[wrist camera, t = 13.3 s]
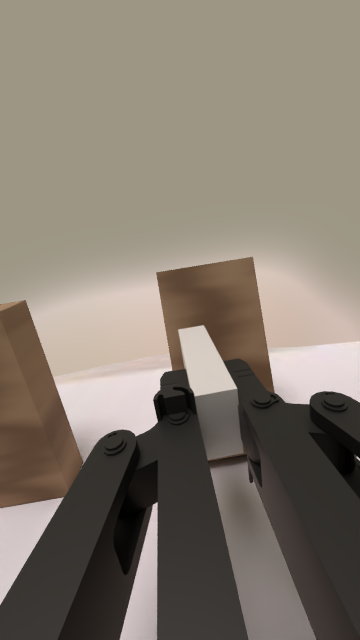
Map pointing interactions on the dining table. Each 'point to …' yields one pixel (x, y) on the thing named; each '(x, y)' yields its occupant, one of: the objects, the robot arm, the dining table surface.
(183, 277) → the tile
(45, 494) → the tile
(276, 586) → the dining table surface
